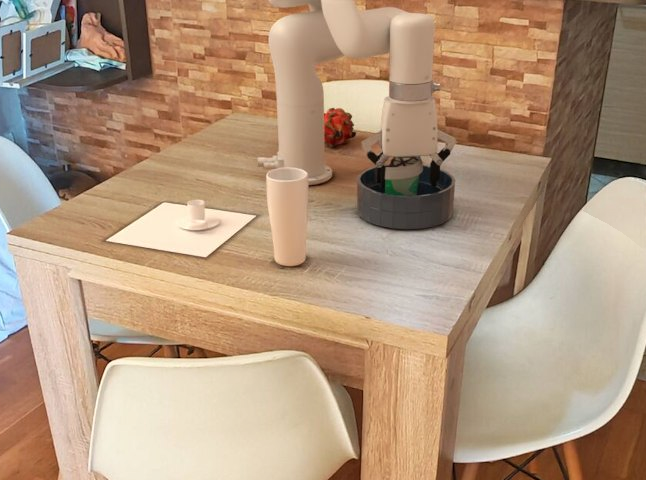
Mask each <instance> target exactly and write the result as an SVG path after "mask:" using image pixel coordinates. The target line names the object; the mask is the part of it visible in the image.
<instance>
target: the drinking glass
mask: <svg viewBox="0 0 646 480" xmlns="http://www.w3.org/2000/svg"><path fill="white" fill-rule="evenodd" d="M265 185H266V186H265V190H266V192H265V193H266V194H265V195H266V203H267V210H268V211H267V212H268V217H269V224H270V231H271V240H272V245H273V247H272V248H273V258H274V262H275V263H277V264H278V265H280V266H283V267H296V266H299V265H302V264H303V263H304V262H305V261H306V259H307V234H308V233H307V232H308V219H309V218H308V217H309V202H310V201H309V199H310V192H309V191H310V190H309V189H310V185H308V174H307V172H306V171H304V170H302V169H298V168H278V169H274V170H273V169H270V170H269V171H268V172H266V174H265Z"/></svg>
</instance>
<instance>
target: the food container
mask: <svg viewBox="0 0 646 480" xmlns="http://www.w3.org/2000/svg"><path fill="white" fill-rule="evenodd" d="M421 158H422V156H414V157H392V159H391V160H390V162H389V164H390V165H389V167H386V171H385V194H391V195H402V196H416V195H417V188H418V180H419V174H420V173H422V171H423V165H424V164H423V160H422V159H421Z"/></svg>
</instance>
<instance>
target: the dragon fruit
mask: <svg viewBox="0 0 646 480" xmlns="http://www.w3.org/2000/svg"><path fill="white" fill-rule="evenodd" d="M352 118H353V115H352V114H351V113H350V112H348V111H347V112H346V111H345V110H344V109H343V108H341V107H337V108H335V107H330V108H328V110H327V111H326V113H325V112H324V143H326V144H327V146H328V147H330V148H335V147H336V146H337V145H345V144H346V143H348V142H349V141H350V140H351V139H353V138H355V137H356V135H357V131H354V129H355V128H354V126H355V123H354V122H353V121H352Z"/></svg>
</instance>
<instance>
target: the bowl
mask: <svg viewBox="0 0 646 480" xmlns="http://www.w3.org/2000/svg"><path fill="white" fill-rule="evenodd" d="M389 165H390V163H388V164H384V167H385V171H386V167H389ZM455 191H456V179H455V177H454V176H453V174H452V173H449V171H446V170H444V169H442V168H440V179H439V181H437V183H436V187H433V186H432V185H431V183H430V165H427V164H426V165H425V164H423V171H422V173H420V174H419V180H418V188H417V195H416V196H402V195H391V194H385V188H384V189H381V187H380V185H379V183H376V166H373V167H372V166H371V167H369V168H367V169H365V170H363V171H362V172H360V173H359V174H358V175H357V178H356V212H357V214H358V216H359V217H360V218H361V219H362V220H364V221H366V222H368V223H370V224H373V225H376V226H379V227H384V228H388V229H394V230H395V229H396V230H417V229H419V230H420V229H426V228H432V227H435V226H439V225H442V224H444V223H445V222H447V221H449V220H450V218H451V217H452V216H453V213H454V205H455V204H454V203H455Z"/></svg>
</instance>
